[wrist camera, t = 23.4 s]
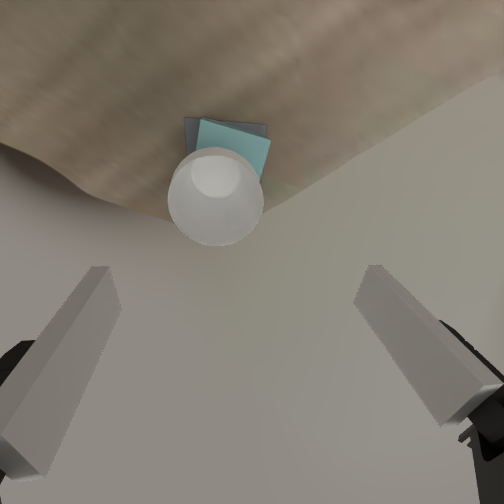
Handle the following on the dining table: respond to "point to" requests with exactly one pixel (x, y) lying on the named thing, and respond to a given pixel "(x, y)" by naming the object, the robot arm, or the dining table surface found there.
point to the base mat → (194, 123)
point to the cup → (215, 197)
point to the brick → (234, 141)
